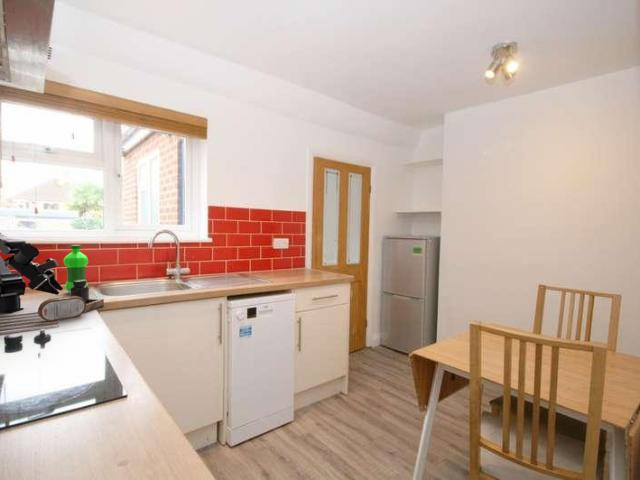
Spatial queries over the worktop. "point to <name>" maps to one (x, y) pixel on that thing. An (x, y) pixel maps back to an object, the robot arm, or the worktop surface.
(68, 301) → the tin
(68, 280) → the plastic bottle
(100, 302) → the keeper collar
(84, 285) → the supplement bottle
